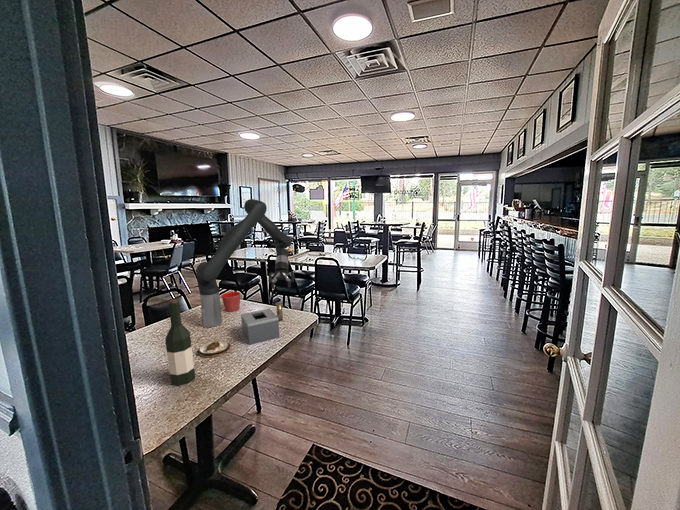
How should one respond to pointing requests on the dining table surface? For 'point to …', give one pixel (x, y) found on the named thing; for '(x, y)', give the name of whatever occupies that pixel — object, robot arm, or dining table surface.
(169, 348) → the wine bottle
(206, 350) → the plate of food
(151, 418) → the dining table surface
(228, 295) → the flower pot
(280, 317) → the brown glossy cylinder
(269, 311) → the box
